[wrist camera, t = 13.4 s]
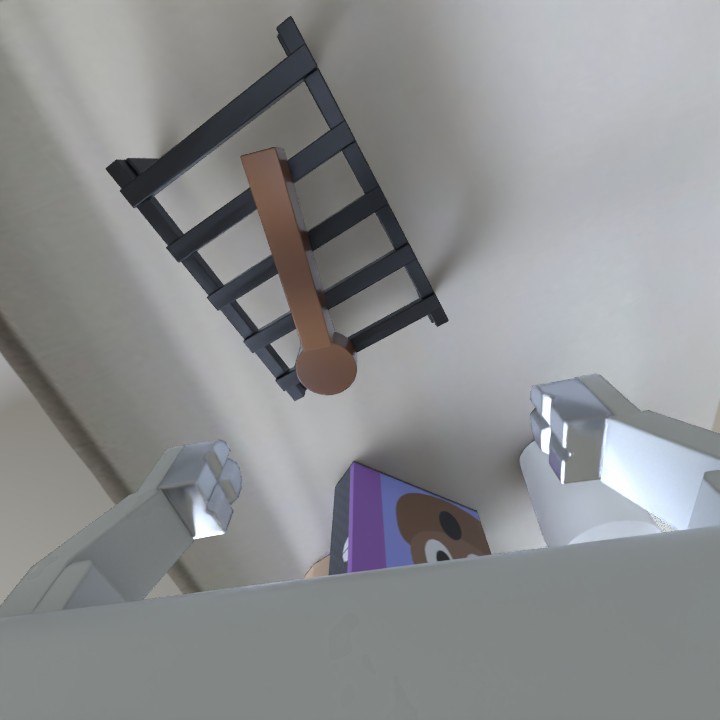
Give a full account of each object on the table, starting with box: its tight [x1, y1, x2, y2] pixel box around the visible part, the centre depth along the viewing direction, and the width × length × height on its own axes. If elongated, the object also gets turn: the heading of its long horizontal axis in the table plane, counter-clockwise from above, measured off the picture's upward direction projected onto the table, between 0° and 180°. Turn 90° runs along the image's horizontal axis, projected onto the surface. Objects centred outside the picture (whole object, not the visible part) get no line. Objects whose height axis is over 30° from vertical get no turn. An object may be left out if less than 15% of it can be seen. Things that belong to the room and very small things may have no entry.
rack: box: [106, 16, 449, 401], centre depth 28 cm, size 20×14×7 cm
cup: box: [520, 441, 662, 547], centre depth 37 cm, size 9×9×12 cm
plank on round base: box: [241, 147, 357, 395], centre depth 25 cm, size 16×4×3 cm, turn 13°
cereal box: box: [328, 461, 491, 576], centre depth 35 cm, size 17×5×24 cm, turn 61°
